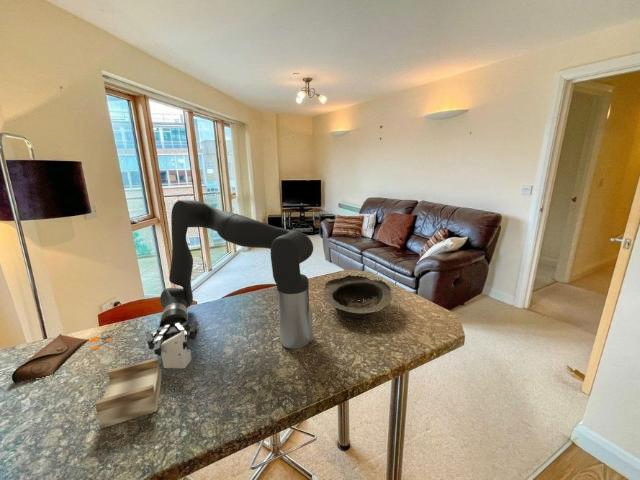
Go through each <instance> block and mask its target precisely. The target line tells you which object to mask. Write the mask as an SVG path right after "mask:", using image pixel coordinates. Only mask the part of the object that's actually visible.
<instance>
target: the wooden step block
mask: <svg viewBox="0 0 640 480" xmlns="http://www.w3.org/2000/svg"><path fill="white" fill-rule="evenodd" d="M161 373H162V371H161V368H160V363H159V357H155V358H151V359H147V360H143V361H139V362H135V363H132V364H126V365H124V366H120V367H115V368H111V369H109V370H108V371H107V374H108V379H109V381H108V384H107V386H106V389H105V391H104V394H103V397H102V398H100V399H97V400H96V401H95V404H94V407H95V410H96V412H97V413H96V414H97V417H98V421H99V425H100V429H105V428H107V427H110V426H114V425H117V424H120V423H122V422H123V423H125V422H126V421H129V420H133V419H137V418H139V417H142V416H146V415H148V414H152V413H156V412H157V411H158V407H159V401H160V394H161V385H162V374H161Z"/></svg>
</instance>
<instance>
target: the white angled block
mask: <svg viewBox="0 0 640 480" xmlns="http://www.w3.org/2000/svg"><path fill="white" fill-rule="evenodd" d="M183 342H185V335H184V331H182V332H181V333H179V334H177V335H175V336H173V337H171V338H170V339H168V340H166V341H164V342H163V343H162V344H161V345H160V346H161V359H162V367H163V368H164V369H186V368H187V366H188V365H189V364H190V363H191V361H192V352H191V349H187V347H185V350H184V349H183Z"/></svg>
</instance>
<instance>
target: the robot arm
mask: <svg viewBox="0 0 640 480" xmlns="http://www.w3.org/2000/svg"><path fill="white" fill-rule="evenodd" d="M170 214H171V215H170V217H171V219H170V221H171V225H170V226H171V248H172V251H171V263H170V270H169V276H168V277H169V278H168V279H169V280H168V281H169V282H170V283H171V284H173V285H177V286H180V287H182V288H180V287H168V288H167V287H166V288H165V289H164V290H162V292H161V293H160V299H159V302H160V305H161V308H162V309H163V311H162V313H161V316H160V322H159V325H158V328H157V329H156V331H154V332H151V330H148V331H146V332H145V338H146V342H147V346H148V350H150V351H152V350H153V351H154V355H157V356H156V357H159V356H162V354H161V346H160V345H161V344H162V343H163V342H164V341H166V340H168V339H170V338H171V337H173V336H175V335H177V334H179V333H181V332H182V331H184V335H185V342H183V349H184V350H185V347H186V348H188V346H189V340H191V341H194V340H195V339H196V338H197V335H198V333H199V330H200V327H199V321H197V320H196V321H193V323H189V311H188V308H189V307H190V306H191V305H192V304H193V299H194V295H193V290H192V273H193V267H194V257H193V254H192V252H191V249H190V247H189V245H188V242H187V233H188V229H189V228H204V229H210V230H213V231H215V232H216V233H217V234H218V235H219V237H220V238H222V239H223V240H225V241H226V242H228V243H231V244H234V245H237V246H240V247H244V248H258V249H270V261H271V262H270V263H271V269H272V277H273V281H274V283H275V285H276V293H277V294H276V296H277V311H278V326H279V341H280V344H281V346H283V347H284V348H287V349H289V350H295V349H301V348H305V347H306V346H307V345H308V344H310V343H311V342H313V341H314V334H313V333H314V332H313V331H314V330H313V312H312V311H311V310H310V291H309V289H310V288H309V287H310V286H309V278H308V276H306V275H305V274H303V273H301V267H300V264H301V263H303V262H305V261H307V260H308V259H309V258H310V257H311V256H312V254H313V252H314V244H313V242H312V240H311V238H310V237H309V236H308V235H307V234H306V233H304V232H301V231H298V230H294V229H287V228H283V227H277V226H274V225H271V224H268V223H266V222H262V221H259V220H256V219H253V218H250V217H247V216H246V215H243V214H242V215H241V214H238V213H234V212H230V211H226V210H220V209H218V208H215V207H213V206H211V205H209V204H207V203H205V202H203V201H199V200H189V199H188V200H186V199H180V200H177V201H176V202H175V203H174V204H173V205H172V209H171V213H170ZM188 331H189V332H188Z"/></svg>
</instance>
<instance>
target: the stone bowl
mask: <svg viewBox="0 0 640 480" xmlns="http://www.w3.org/2000/svg"><path fill="white" fill-rule="evenodd" d="M391 291H392V289H391V286H390V285H388V284H387V283H386V281H383V280H382V279H379V280H378V279H377V280H376V279H371V278H369V277H367V276H362V275H360V276H359V275H351V274H348V275H345V276H344V277H340V278H333V279H331V280H328V281H327V282H326V283H325V286H324V290H323V291H322V294H323V297H324V299H325V301H326V303H328V304H329V305H330V306H331V307H332V308H334V309H335V311H336V312H337V313H339V314H340V315H342V316H343V317H344V318H347V319H356V320H362V319H365V318H369V317H370V316H373V315H375V314H376V313H377V312H380V311H381V310H383V309H384V308H385V307H386V306H388V305H390V304H391V301H392V298H393V297H392V292H391ZM361 299H364V300H361ZM358 300H360V301H358Z"/></svg>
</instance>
